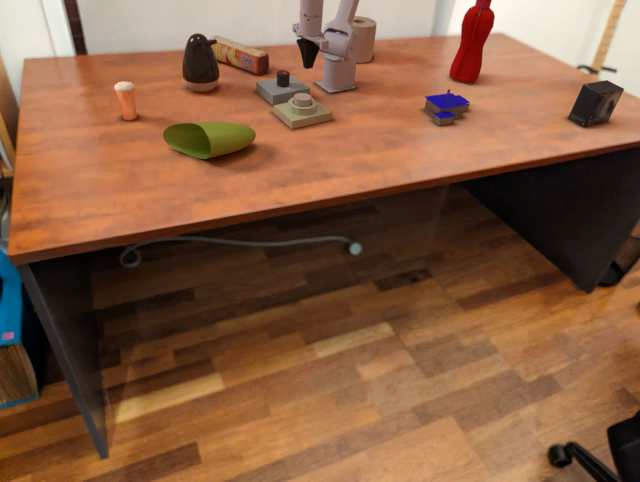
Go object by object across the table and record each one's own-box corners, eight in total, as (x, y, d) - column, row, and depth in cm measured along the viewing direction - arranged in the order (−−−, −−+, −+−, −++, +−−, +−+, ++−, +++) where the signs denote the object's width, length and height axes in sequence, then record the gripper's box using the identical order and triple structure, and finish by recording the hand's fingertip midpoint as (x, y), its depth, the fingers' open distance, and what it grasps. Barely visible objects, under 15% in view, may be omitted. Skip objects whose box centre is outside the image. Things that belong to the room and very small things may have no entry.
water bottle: (445, 81, 158) (466, -3, 142) (451, 70, 166) (471, -11, 150) (474, 88, 156) (498, 3, 140) (479, 76, 164) (502, -5, 148)
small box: (584, 128, 139) (600, 93, 133) (566, 118, 144) (581, 83, 137) (609, 122, 143) (626, 88, 137) (590, 113, 148) (606, 79, 141)
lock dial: (274, 83, 140) (274, 70, 138) (285, 81, 142) (285, 68, 140) (280, 88, 138) (280, 74, 136) (291, 86, 140) (292, 72, 137)
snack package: (271, 71, 155) (271, 49, 150) (257, 77, 150) (257, 55, 146) (220, 53, 163) (219, 32, 158) (206, 59, 158) (204, 37, 154)
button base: (311, 105, 138) (311, 91, 136) (330, 120, 132) (331, 106, 130) (273, 112, 133) (273, 98, 130) (291, 129, 127) (292, 114, 124)
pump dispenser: (213, 98, 137) (209, 42, 127) (178, 92, 138) (171, 37, 128) (226, 84, 145) (223, 30, 135) (192, 79, 146) (187, 25, 136)
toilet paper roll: (339, 48, 175) (342, 14, 167) (373, 52, 174) (378, 18, 166) (335, 60, 165) (339, 24, 158) (371, 65, 165) (376, 29, 157)
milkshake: (145, 114, 127) (138, 76, 121) (132, 123, 123) (125, 84, 117) (129, 110, 128) (122, 73, 122) (116, 119, 124) (108, 80, 118)
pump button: (305, 98, 133) (305, 91, 131) (314, 105, 130) (315, 98, 129) (290, 102, 131) (290, 94, 129) (299, 109, 128) (299, 101, 126)
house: (480, 120, 139) (486, 101, 135) (438, 126, 134) (443, 107, 130) (457, 103, 146) (462, 84, 143) (416, 108, 141) (420, 89, 138)
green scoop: (177, 133, 102) (265, 123, 111) (161, 119, 111) (243, 111, 121) (180, 169, 106) (265, 156, 115) (165, 152, 115) (244, 142, 124)
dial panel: (292, 84, 148) (292, 74, 146) (309, 98, 142) (310, 87, 140) (256, 91, 142) (256, 81, 140) (272, 105, 136) (272, 94, 134)
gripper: (282, 7, 126) (281, 60, 134) (313, 24, 117) (309, 80, 125) (306, 4, 129) (303, 56, 138) (337, 21, 120) (332, 75, 129)
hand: (308, 67), depth 132 cm, fingers closed
